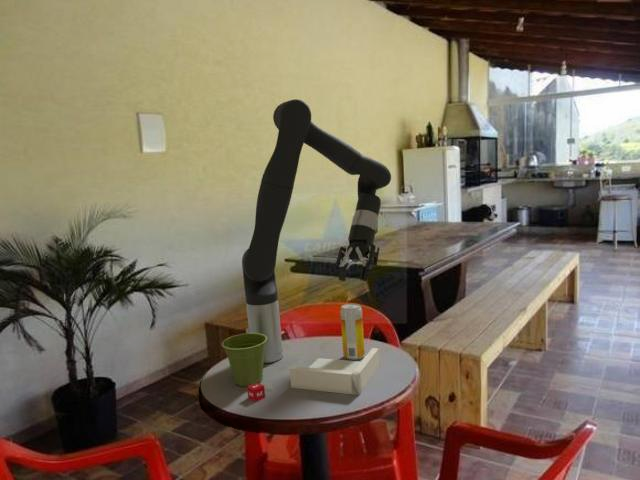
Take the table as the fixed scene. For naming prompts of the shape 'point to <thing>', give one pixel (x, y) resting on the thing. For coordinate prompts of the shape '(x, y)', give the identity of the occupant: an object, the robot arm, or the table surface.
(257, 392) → the dice
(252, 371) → the plant pot
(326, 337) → the table surface
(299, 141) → the robot arm
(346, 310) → the beer can
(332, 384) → the white corner tray
